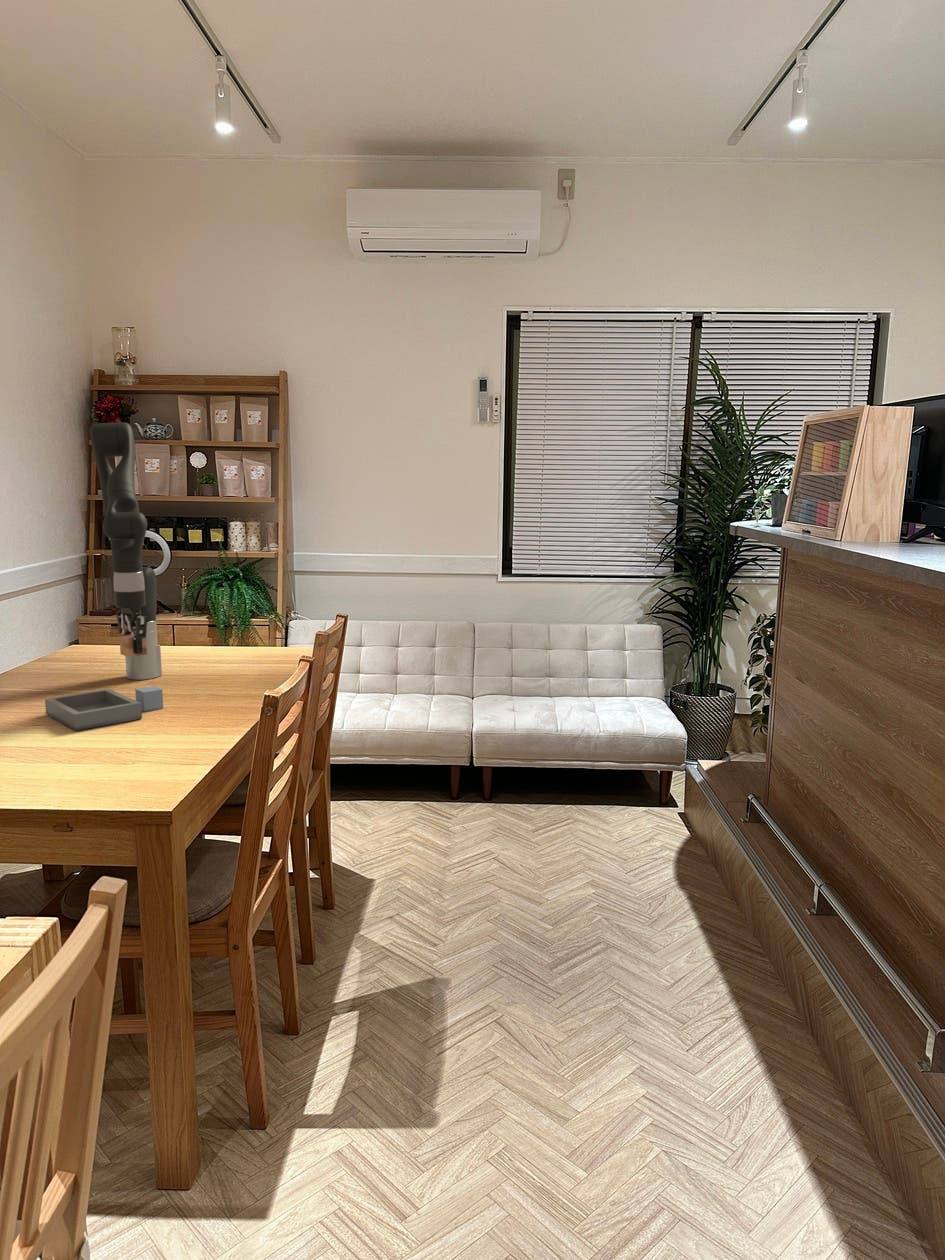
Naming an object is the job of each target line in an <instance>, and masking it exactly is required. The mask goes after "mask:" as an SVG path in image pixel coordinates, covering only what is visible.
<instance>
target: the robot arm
mask: <svg viewBox="0 0 945 1260" xmlns="http://www.w3.org/2000/svg"><path fill="white" fill-rule="evenodd" d="M89 436H90V443H91V447H92V451H93V452H92V453H93V456H94V460H95V465H96V470H97V474H98V477H99V483H100V488H101V497H102V503H103V510H104V511H103V512H104V518H103V521H102V522H103V523H102V530H103V533H104V535H105V536H106V537H107V538H109V542H110V543H109V544H110V548H111V549H110V550H111V556H112V557H111V558H112V569H113V571H112V572H113V591H114V592H113V594H114V605H115V608H118V609H120V610H119V611H116V612H115V614H116V615H115V616H116V621H117V627H118V631H119V632H118V633H119V634H121V635H129V634H132V638H133V651H134V653H135V654H140V653H142V652H143V647H142V639H143V638H146V645H147V654H146V655H140V656H133V657H127V656H125V670H126V671H125V673H126V679H128V680H135V681H137V680H138V681H139V680H141V681H142V680H151V679H154V678H157V677H162V676H163V670H162V651H161V645H160V644H158V632H157V629H158V627H157V608H158V607H157V603H158V602H157V589H158V588H157V584H158V583H157V576H156V572H155V571H154V569H153V568H152V567H149V566H143V547H144V541H145V537H146V533H147V530H148V529H147V528H148V521H147V518H146V517H145V515H144V514H143V513H142V512H141V511H140V508H139V502H138V500H137V494H136V486H135V473H136V472H135V471H136V468H135V467H136V443H135V442H136V441H135V437H134V436H135V435H134V430H133V428H132V426H131V424H130V423H128V422H121V421H119V422H102V423H93V424H92V425H91V426H90V429H89ZM116 457H121V459H120V461H119V462H118V464H117V465H116V467H114V469H113V468H112V467H111V465H110V463H109V460H108V458H116Z"/></svg>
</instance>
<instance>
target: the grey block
mask: <svg viewBox="0 0 945 1260" xmlns="http://www.w3.org/2000/svg"><path fill="white" fill-rule="evenodd" d="M134 690H135V693H134V694H135V700H136V701H138V702H140V703H141V708H142V712H150V711H155V710H160V709H163V708H164V698H163V697H164V695H163V694H164V693H163V689H162V688H159V687H157V686H154V685H151V686H146V687H139V688H135V689H134Z"/></svg>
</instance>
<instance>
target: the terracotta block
mask: <svg viewBox="0 0 945 1260" xmlns="http://www.w3.org/2000/svg"><path fill="white" fill-rule="evenodd" d="M118 638H119V650H120V651H119V652H120V655H122V656H123V657H124V656H127V657H133V656H140V655H146V654H147V645H146V638H143V639H142V647H143V652H142V653H140V654H135V653H134V651H133V638H132V634H129V635H122V634H121V635H119V636H118Z"/></svg>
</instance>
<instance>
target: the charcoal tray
mask: <svg viewBox="0 0 945 1260" xmlns="http://www.w3.org/2000/svg"><path fill="white" fill-rule="evenodd" d="M44 702H45V703H44V705H45V715H47V716H48V717H51V718H52V719H54V720H56V721H57V722H59V723H61V724H62V725H64V726H66V727H68V728H69V729H72V730H73V731H75V732H77V731H83V730H88V729H95V728H99V727H104V726H109V725H116V724H119V723H125V722H130V721H136V720H141V719H143V714H142V712H143V710H142V708H141V703H140V702H138V701H136V699H133V698H130V697H129V696H126V695H124V694H122V693H120V692H117V691H115V690H113V689H111V688H104V689H99V690H91V691H85V692H79V693H73V694H67V695H66V694H65V695H60V696H55V697H54V696H53V697H47V698H44Z"/></svg>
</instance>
